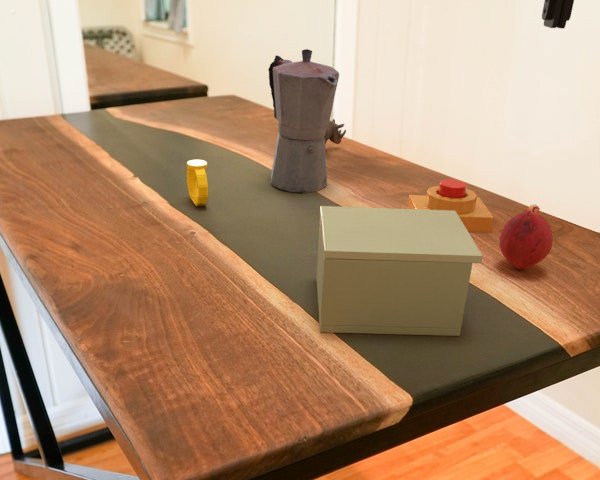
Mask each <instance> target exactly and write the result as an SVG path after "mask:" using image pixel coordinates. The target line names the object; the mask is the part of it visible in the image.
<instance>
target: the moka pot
mask: <svg viewBox="0 0 600 480" xmlns="http://www.w3.org/2000/svg"><path fill="white" fill-rule="evenodd" d="M312 56H313V50H311V49H308V48H306V49H302V50H301V57H302V60H300V61H292V60H290V59H284V58H282V57H281V56H279V55H274V60H273V61H272V62H271V63H270V64H269V67H268V70H267V71H268V80H269V82H268V83H269V87H270V92H271V93H270V94H271V98H272V107H273V117H274V118H275V119H276V120H277V122H278V123H277V124H278V127H277V128H278V129H277V130H278V134H277V138H276V142H275V143H276V144H275V151H274V156H273V161H272V167H271V172H270V173H271V174H270V183H271V185H272V186H274V187H275V188H278V190H282V191H284V192H289V193H296V194H305V193H307V194H308V193H314V192H318V191H321V190H323V189H324V188H325V187H326V186H327V184H328V174H327V173H328V171H327V158H326V157H327V155H326V154H327V153H326V151H327V150H326V144H325V138H324V136H325V133H326V125H327V124H328V123H329V122H330V121H331V117H332V113H333V112H332V111H333V106H334V101H335V96H336V92H337V87H338V83H339V77H340V72H339V71H338V70H336V68H333V67H332V66H329V65H327V64H322V63H318V62H314V61H311V60H312Z"/></svg>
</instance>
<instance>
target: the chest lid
mask: <svg viewBox="0 0 600 480" xmlns="http://www.w3.org/2000/svg"><path fill="white" fill-rule="evenodd" d="M320 218H321V228H322V238H323V249H324V258H332V259H363V260H393V261H424V262H455V263H472V264H482V262H483V254H482V252H481V250H480V249H479V248H478V246H477V244H476V242H475V240H474V239H473V237H472V235H471V234H470V232H468V231H467V229H466V228H465V226H464V224H463V223H462V221H461V219H460V218H459V216H458V214H457V213H456V211H452V210H423V209H408V208H393V207H392V208H388V207H363V206H362V207H360V206H335V205H320V207H319V219H320Z"/></svg>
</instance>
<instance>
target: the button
mask: <svg viewBox="0 0 600 480" xmlns="http://www.w3.org/2000/svg"><path fill="white" fill-rule="evenodd" d="M438 186H439V192H438V195H441V196H443V197H448V198H459V199H460V198H465V195H466V189H468V184H467V183H466V182H464V181H462V180H458V179H442V180H440V182H439V185H438Z"/></svg>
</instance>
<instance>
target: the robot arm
mask: <svg viewBox="0 0 600 480" xmlns="http://www.w3.org/2000/svg"><path fill="white" fill-rule="evenodd" d="M543 2H544V3H543V7H542V14H541V19H542V20H543V26H544V27H546V28H550V29H556V28H557V29H565V28H566V26H567V22H569V21H570V19H571V16H572V12H573V7H574V2H575V0H544V1H543Z"/></svg>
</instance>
